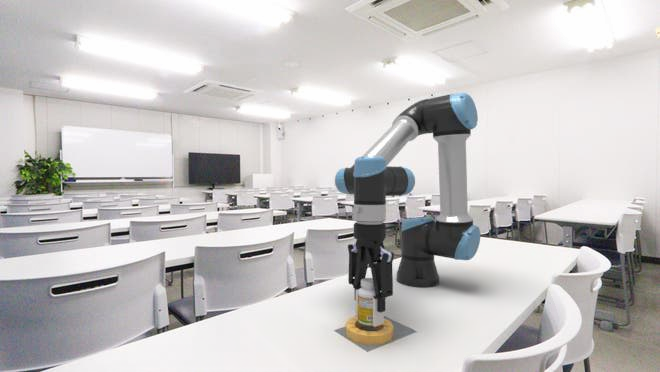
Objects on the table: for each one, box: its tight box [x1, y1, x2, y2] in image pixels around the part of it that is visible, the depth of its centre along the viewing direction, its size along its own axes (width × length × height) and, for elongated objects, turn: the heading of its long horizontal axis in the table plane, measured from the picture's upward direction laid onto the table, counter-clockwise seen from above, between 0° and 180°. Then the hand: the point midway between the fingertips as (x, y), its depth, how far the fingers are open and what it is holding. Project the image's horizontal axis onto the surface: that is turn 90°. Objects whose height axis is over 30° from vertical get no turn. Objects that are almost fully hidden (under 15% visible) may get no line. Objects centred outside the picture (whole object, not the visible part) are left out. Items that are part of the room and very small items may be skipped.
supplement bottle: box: [358, 277, 376, 326], centre depth 77 cm, size 5×5×10 cm
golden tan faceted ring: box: [344, 315, 394, 345], centre depth 77 cm, size 11×11×2 cm
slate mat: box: [334, 315, 418, 353], centre depth 78 cm, size 12×16×1 cm
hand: (369, 319), depth 77 cm, fingers closed on supplement bottle, 5 cm apart
